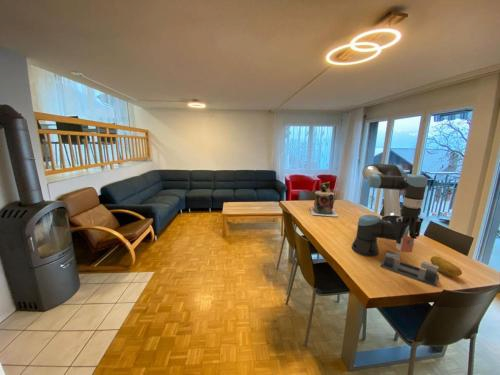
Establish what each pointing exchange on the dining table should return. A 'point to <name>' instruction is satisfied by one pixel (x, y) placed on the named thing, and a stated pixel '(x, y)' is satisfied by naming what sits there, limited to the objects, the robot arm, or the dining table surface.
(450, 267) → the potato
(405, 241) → the coupling
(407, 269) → the bench
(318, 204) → the cookie jar
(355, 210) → the dining table surface
